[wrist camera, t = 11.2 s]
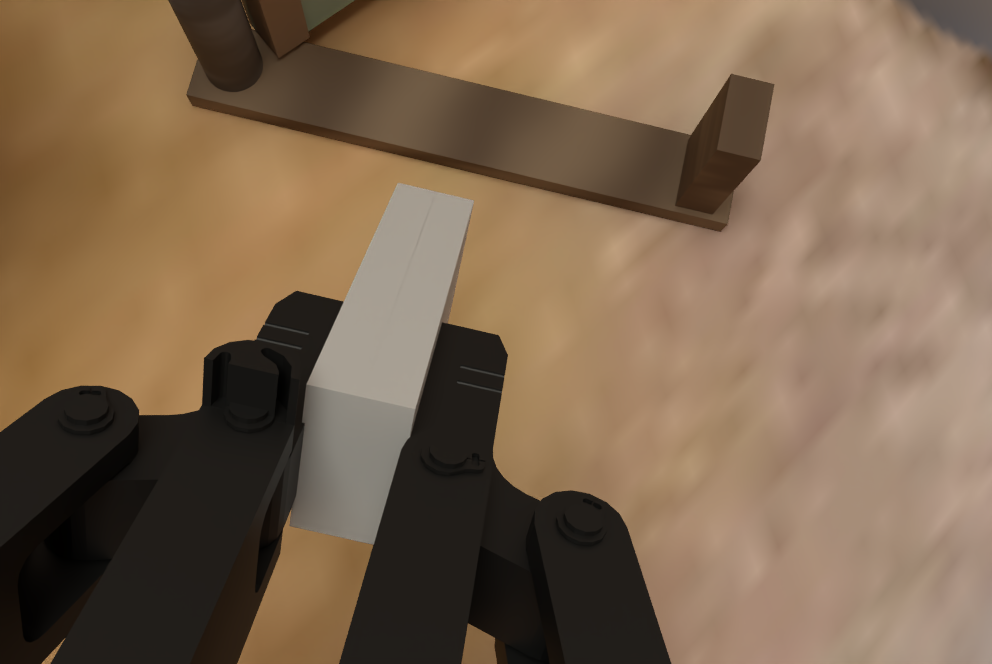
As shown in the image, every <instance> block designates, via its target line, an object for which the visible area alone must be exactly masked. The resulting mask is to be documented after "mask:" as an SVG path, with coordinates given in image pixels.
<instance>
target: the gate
mask: <svg viewBox="0 0 992 664" xmlns="http://www.w3.org/2000/svg"><path fill="white" fill-rule="evenodd" d="M353 1H355V0H242V3H243V5H244V8H245V11H246V13H247V16H248V19H249V22H250V24H251V25H252V26H253V27H254V29H255V30H256V31H257V32H258V34H259V35H260V36H261V37H262V39H263V40H264V41H265V42H266V43H267V45H268V46H269V47H270V48H271V50H272V51H273V52H274V53H275V55H276V56H277V57H278V58H280V57H281V56H283V55H284V54H286V53H287V52H289V51H290V50H292V49H293V48H295V47H296V46H298V45H299V44H301V43H302V42H304V41H305V40H307V39H308V38H310V36H309V32H308V31H310V30H311V29H313V28H314V27H316V26H317V25H319V24H320V23H322V22H323V21H325V20H326V19H328V18H329V17H331V16H332V15H334V14H335V13H337V12H338V11H340V10H341V9H343V8H344V7H346V6H347V5H349V4H350V3H352V2H353Z"/></svg>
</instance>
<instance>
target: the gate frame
mask: <svg viewBox="0 0 992 664" xmlns="http://www.w3.org/2000/svg"><path fill="white" fill-rule="evenodd" d="M168 1H169V3H170V4H171V6H172V8H173V10H174V12H175V14H176V16H177V18H178V20H179V22H180V24H181V26H182V28H183V30H184V32H185V34H186V36H187V38H188V40H189V42H190V44H191V46H192V48H193V50H194V52H195V54H196V56H197V58H198V60H197V63H196V66H195V69H194V72H193V76H192V79H191V82H190V85H189V88H188V91H187V94H186V95H187V97H188V99H189V100H190V102H191V104H192V105H193V106H198V107H202V108H206V109H210V110H214V111H219V112H223V113H227V114H231V115H235V116H239V117H244V118H248V119H252V120H256V121H260V122H265V123H269V124H273V125H277V126H281V127H286V128H290V129H294V130H298V131H302V132H306V133H311V134H315V135H319V136H323V137H327V138H332V139H336V140H340V141H344V142H348V143H352V144H357V145H361V146H365V147H369V148H373V149H378V150H382V151H386V152H390V153H394V154H399V155H403V156H407V157H411V158H415V159H419V160H424V161H428V162H432V163H436V164H440V165H445V166H449V167H453V168H457V169H461V170H465V171H470V172H474V173H478V174H482V175H486V176H491V177H495V178H499V179H503V180H507V181H512V182H516V183H520V184H524V185H528V186H532V187H537V188H541V189H545V190H549V191H553V192H558V193H562V194H566V195H570V196H574V197H578V198H583V199H587V200H591V201H595V202H599V203H604V204H608V205H612V206H616V207H620V208H625V209H629V210H633V211H637V212H641V213H645V214H650V215H654V216H658V217H662V218H666V219H671V220H675V221H679V222H683V223H687V224H691V225H696V226H700V227H704V228H708V229H712V230H717V231H721V230H722V229H723V228H724V227H725V226H726V225H727V224H728V219H729V214H730V208H731V203H732V197H733V192H734V190H735V189H736V187H737V186H738V185H739V184H740V183H741V182H742V181H743V180H744V178H745V177H746V176H747V175H748V174H749V173H750V172H751V171H752V169H753V168H754V167H755V166H756V165H757V164H758V163H759V162H760V160H761V156H762V150H763V145H764V139H765V133H766V128H767V122H768V117H769V111H770V105H771V100H772V94H773V89H774V84H771V83H767V82H763V81H759V80H755V79H750V78H746V77H742V76H738V75H734V74H731V75H730V77H729V78H728V80H727V81H726V83H725V84H724V86H723V87H722V89H721V90H720V92H719V93H718V95H717V96H716V98H715V100H714V101H713V103H712V104H711V106H710V107H709V109H708V110H707V112H706V113H705V115H704V116H703V118H702V119H701V121H700V122H699V124H698V125H697V127H696V129H695V130H694V132H693V133H692V135H688V134H684V133H680V132H676V131H671V130H667V129H663V128H659V127H655V126H651V125H647V124H642V123H638V122H634V121H630V120H626V119H622V118H617V117H613V116H609V115H605V114H601V113H597V112H592V111H588V110H584V109H580V108H576V107H572V106H568V105H563V104H559V103H555V102H551V101H547V100H543V99H538V98H534V97H530V96H526V95H522V94H518V93H513V92H509V91H505V90H501V89H497V88H493V87H489V86H484V85H480V84H476V83H472V82H468V81H464V80H459V79H455V78H451V77H447V76H443V75H439V74H434V73H430V72H426V71H422V70H418V69H414V68H410V67H405V66H401V65H397V64H393V63H389V62H385V61H380V60H376V59H372V58H368V57H364V56H360V55H355V54H351V53H347V52H343V51H339V50H335V49H331V48H326V47H322V46H318V45H314V44H310V43H306V42H302V43H301V44H299V45H298V46H296V47H295V48H293V49H292V50H290V51H289V52H287V53H286V54H284V55H283V56H281V57H280V58H278V57H277V56H276V55H275V53H274V52H273V51H272V50H271V48H270V47H269V46H268V45H267V43H266V42H265V41H264V40H263V39H262V37H261V36H260V35H259V34H258V32H257V31H256V30H252V29H251V26H250V24H249V21H248V18H247V16H246V13H245V10H244V7H243V5H242V2H241V0H168Z"/></svg>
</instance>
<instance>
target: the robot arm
mask: <svg viewBox="0 0 992 664" xmlns="http://www.w3.org/2000/svg"><path fill="white" fill-rule="evenodd" d="M473 203H474V200H469V199H465V198H461V197H457V196H452V195H448V194H444V193H440V192H435V191H431V190H427V189H422V188H418V187H414V186H410V185H405V184H401V183H398V184H397V186H396V188H395V190H394V192H393V195H392V197H391V199H390V201H389V203H388V206H387V208H386V210H385V212H384V215H383V217H382V219H381V221H380V223H379V226H378V228H377V230H376V232H375V234H374V237H373V239H372V241H371V243H370V245H369V248H368V250H367V252H366V254H365V256H364V259H363V261H362V263H361V265H360V267H359V270H358V272H357V274H356V276H355V278H354V281H353V283H352V285H351V287H350V289H349V292H348V294H347V296H346V298H345V300H344V302H343V301H338V300H334V299H330V298H325V297H321V296H317V295H312V294H308V293H304V292H299V291H295V292H294V293H292V294H291V295H289V296H287V297H286V298H284V299H283V300H281V301H279V302H278V303H276V304H275V306H274V307H273V309H272V311H271V313H270V314H269V316H268V318H267V320H266V321H265V325H263V327H262V328H261V330H260V332H259V334H258V336H257V339H256V340H255V341H252V340H244V341H236V342H229V343H227V344H224V345H222V346H219V347H217V348H214V349H213V350H212V351H211V352H210V353H209V354H208V355H207V356H206V357H205V358H204V374H203V398H202V406H201V408H200V409H199V410H198V411H194V412H190V413H186V414H178V415H139V409H138V408H137V406H136V404H135V403H134V401H133V399H132V398H130V397H128V396H127V395H125V394H124V393H122V392H120V391H119V390H115V389H111V388H107V387H103V386H78V387H74V388H69V389H65V390H61V391H59V392H57V393H55V394H53V395H51V396H49V397H48V398H46V399H44V400H43V401H41V402H40V403H39V404H37V405H36V406H35V407H33V408H32V409H31V410H29V411H28V412H27V413H25V414H24V415H23V416H21V417H20V418H19V419H17V420H16V421H15V422H13V423H12V424H11V425H9V426H8V427H7V428H5V429H4V430H3V431H1V432H0V664H41V663H42V662H43V661H44V660H45V659H46V658H47V657H48V656H49V655H50V653H51V652H52V651H53V650H54V649H55V648H56V647H57V646H58V645H59V644H60V643H61V642H62V641H63V640H64V639H65V640H64V642H63V643H62V645H61V647H60V648H59V650H58V652H57V654H56V655H55V657H54V659H53V660H52V662H51V664H237V662H238V660H239V657H240V655H241V652H242V650H243V647H244V644H245V642H246V639H247V637H248V634H249V632H250V629H251V626H252V624H253V621H254V619H255V616H256V614H257V611H258V609H259V606H260V603H261V601H262V598H263V596H264V593H265V591H266V588H267V585H268V583H269V580H270V578H271V575H272V573H273V570H274V568H275V565H276V562H277V560H278V557H279V555H280V549H281V541H282V532H283V528H284V525H285V523H286V520H287V518H288V515H289V513H290V510H291V508H292V510H291V518H290V526H292V527H297V528H301V529H306V530H310V531H315V532H319V533H324V534H328V535H332V536H337V537H341V538H346V539H350V540H355V541H359V542H364V543H368V544H373V549H372V552H371V555H370V559H369V562H368V566H367V569H366V573H365V576H364V580H363V583H362V587H361V590H360V593H359V597H358V600H357V604H356V607H355V611H354V614H353V618H352V621H351V625H350V628H349V631H348V635H347V638H346V642H345V645H344V649H343V652H342V656H341V659H340V663H339V664H461V662H462V656H463V650H464V643H465V637H466V631H467V625H468V623H469V624H471V625H473V626H474V627H476V628H478V629H480V630H482V631H484V632H485V633H487V634H489V635H491V636H493V637H495V652H496V658H497V664H671V661H670V658H669V655H668V652H667V649H666V646H665V643H664V640H663V637H662V634H661V631H660V627H659V624H658V621H657V618H656V615H655V612H654V609H653V606H652V603H651V600H650V597H649V593H648V590H647V587H646V584H645V581H644V578H643V575H642V572H641V569H640V566H639V563H638V560H637V556H636V553H635V550H634V547H633V544H632V541H631V538H630V535H629V532H628V529H627V526H626V525H625V523H624V521H623V519H622V518H621V516H620V514H619V513H618V512H617V511H616V510H615V509H613V508H612V507H611V506H610V505H609V504H608V503H607V502H605V501H603V500H601V499H599V498H597V497H595V496H593V495H591V494H587V493H582V492H577V491H562V492H555V493H553V494H551V495H549V496H547V497H545V498H543V499H542V500H541V501H539V500H537V499H535V498H533V497H531V496H529V495H527V494H525V493H524V492H522V491H520V490H519V489H517V488H515V487H514V486H512V485H511V484H510V483H509V482H508V481H507V480H506V479H505V478H504V477H503V476H502V475H501V473H500V472H499V470H498V469H497V467H496V465H495V462H494V459H493V444H494V438H495V432H496V426H497V419H498V413H499V407H500V401H501V395H502V394H501V393H502V388H503V382H504V375H505V370H506V364H507V357H508V354H507V352H506V350H505V348H504V346H503V344H502V341H501V339H500V337H499V335H495V334H491V333H486V332H482V331H478V330H473V329H469V328H465V327H460V326H456V325H452V324H447V323H448V319H449V315H450V310H451V306H452V301H453V296H454V292H455V287H456V282H457V278H458V273H459V268H460V264H461V259H462V254H463V250H464V245H465V240H466V236H467V231H468V226H469V222H470V217H471V212H472V208H473Z"/></svg>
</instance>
